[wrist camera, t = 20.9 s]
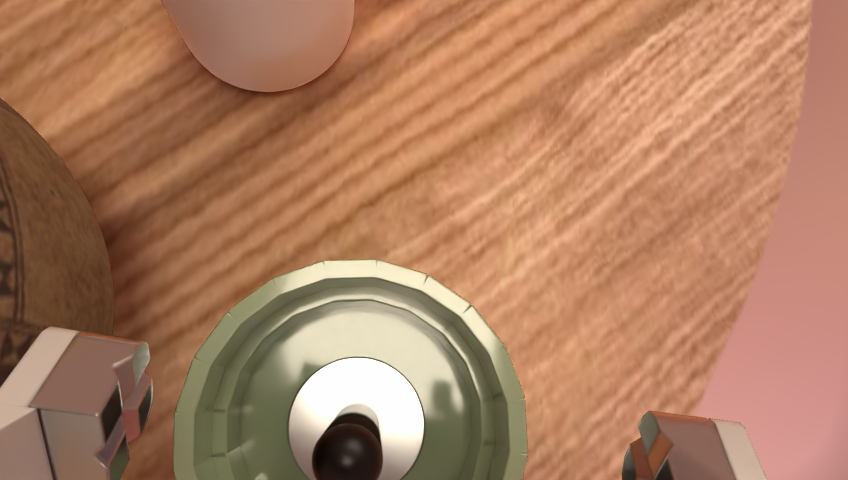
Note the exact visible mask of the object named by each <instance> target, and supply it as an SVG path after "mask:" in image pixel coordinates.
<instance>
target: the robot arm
mask: <svg viewBox="0 0 848 480" xmlns="http://www.w3.org/2000/svg"><path fill="white" fill-rule="evenodd" d="M149 360H150V354H149V347H148V343H146V342H144V341H141V340H135V339H129V338H123V337H116V336H110V335H104V334H98V333H92V332H86V331H76V330H70V329H64V328H58V327H52V326H50V327H48V328H47V329H45V330H44V331H42V332H41V333H40V334H39V335H38V337H37V338H36V339H35V341H34V342H33V344H32V345H31V346H30V348H29V349H28V350H27V352H26V353H25V354H24V356H23V357H22V358H21V360H20V361H19V363H18V364H17V365H16V367H15V368H14V369H13V371H12V372H11V373H10V375H9V376H8V377H7V379H6V380H5V382H4V383H3V384H2V386H1V387H0V480H120V478H121V476H122V474H123V472H124V470H125V468H126V465H127V463H128V461H129V459H130V458H129V450H128V444H129V443H131V442H132V441H134V440H135V439H137V438H138V437H140V436H141V434H142V432H143V429H144V427H145V425H146V423H147V420H148V416H149V413H150V409H151V405H152V398H153V382H152V378H151V377H150V376H149V375H148V373H147V372H146V371H145V368H146V366H147V364H148V362H149ZM639 430H640V434H641V438H639V439H637V440H636V441H634V442H632V443H631V444H630V445H629V447H628V450H627V452H626V455H625V457H624V463H623V470H622V480H767V478H766V476H765V473H764V471H763V469H762V466H761V464H760V462H759V459H758V457H757V455H756V452H755V450H754V448H753V445H752V443H751V441H750V438H749V436H748V434H747V431H746V429H745V427H744V426H743V425H742V424H741V423H739V422H733V421H725V420H718V419H707V418H702V417H695V416H687V415H679V414H671V413H664V412H656V411H648V412H647V413H646V414H645V415H644V416H643V418H642V420H641V422H640V424H639Z"/></svg>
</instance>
